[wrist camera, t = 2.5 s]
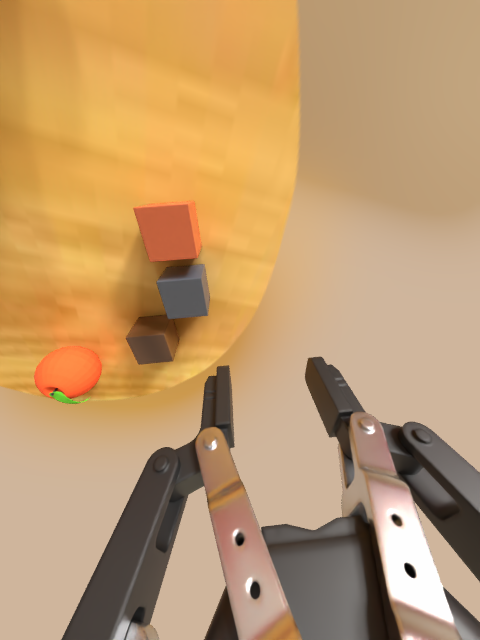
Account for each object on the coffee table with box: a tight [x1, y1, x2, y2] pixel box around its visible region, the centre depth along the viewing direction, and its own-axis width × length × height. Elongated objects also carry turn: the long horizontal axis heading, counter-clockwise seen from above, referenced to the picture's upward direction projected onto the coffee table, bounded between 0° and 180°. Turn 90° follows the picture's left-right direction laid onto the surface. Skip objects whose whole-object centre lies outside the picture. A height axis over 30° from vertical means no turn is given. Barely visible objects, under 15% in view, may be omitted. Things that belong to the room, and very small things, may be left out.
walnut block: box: [126, 315, 179, 364], centre depth 27 cm, size 4×4×4 cm
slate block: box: [157, 264, 210, 319], centre depth 23 cm, size 4×4×4 cm
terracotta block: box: [133, 201, 202, 262], centre depth 19 cm, size 4×4×4 cm
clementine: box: [34, 347, 102, 404], centre depth 27 cm, size 8×7×7 cm
